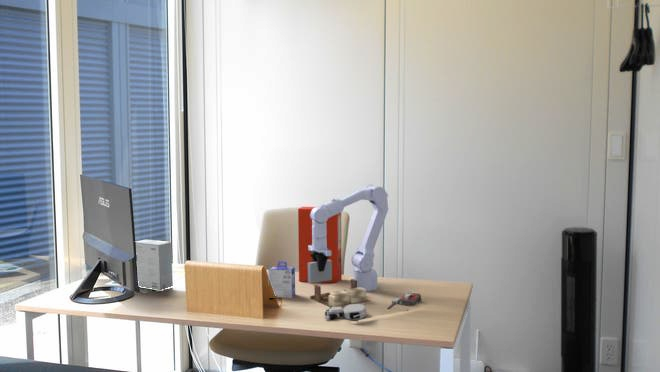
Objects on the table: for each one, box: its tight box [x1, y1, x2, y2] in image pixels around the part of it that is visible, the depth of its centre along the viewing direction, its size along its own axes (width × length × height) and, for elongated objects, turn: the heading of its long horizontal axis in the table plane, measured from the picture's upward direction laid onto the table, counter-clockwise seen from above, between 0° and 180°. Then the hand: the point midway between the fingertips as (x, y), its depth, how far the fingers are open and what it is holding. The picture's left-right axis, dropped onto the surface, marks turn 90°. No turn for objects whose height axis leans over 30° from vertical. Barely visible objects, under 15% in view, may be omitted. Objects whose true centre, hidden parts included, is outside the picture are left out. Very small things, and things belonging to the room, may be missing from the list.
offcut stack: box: [328, 287, 367, 307], centre depth 274 cm, size 15×4×4 cm, turn 122°
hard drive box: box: [135, 239, 174, 290], centre depth 301 cm, size 16×8×20 cm, turn 58°
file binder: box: [297, 206, 343, 284], centre depth 311 cm, size 8×17×32 cm, turn 76°
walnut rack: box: [309, 278, 372, 308], centre depth 278 cm, size 18×16×7 cm
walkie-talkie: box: [386, 292, 422, 310], centre depth 273 cm, size 9×4×20 cm
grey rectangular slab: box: [307, 260, 332, 284], centre depth 286 cm, size 10×2×8 cm, turn 122°
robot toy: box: [324, 302, 367, 322], centre depth 257 cm, size 12×4×15 cm
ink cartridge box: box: [268, 260, 296, 299], centre depth 284 cm, size 10×6×14 cm, turn 78°
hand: (319, 270), depth 286 cm, fingers closed on grey rectangular slab, 2 cm apart
